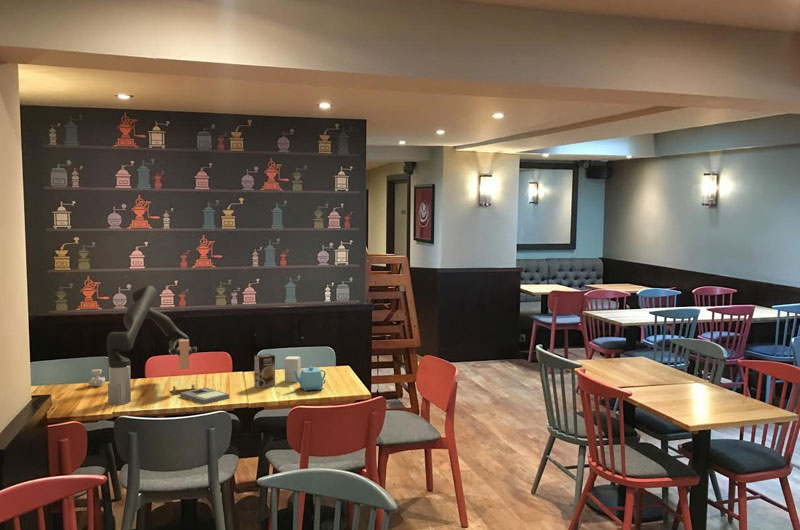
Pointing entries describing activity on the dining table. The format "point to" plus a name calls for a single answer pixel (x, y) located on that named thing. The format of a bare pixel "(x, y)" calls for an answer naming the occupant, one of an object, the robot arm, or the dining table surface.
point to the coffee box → (264, 371)
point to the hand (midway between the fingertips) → (184, 353)
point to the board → (204, 395)
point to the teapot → (310, 378)
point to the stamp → (97, 378)
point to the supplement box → (292, 368)
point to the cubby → (182, 390)
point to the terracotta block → (184, 354)
